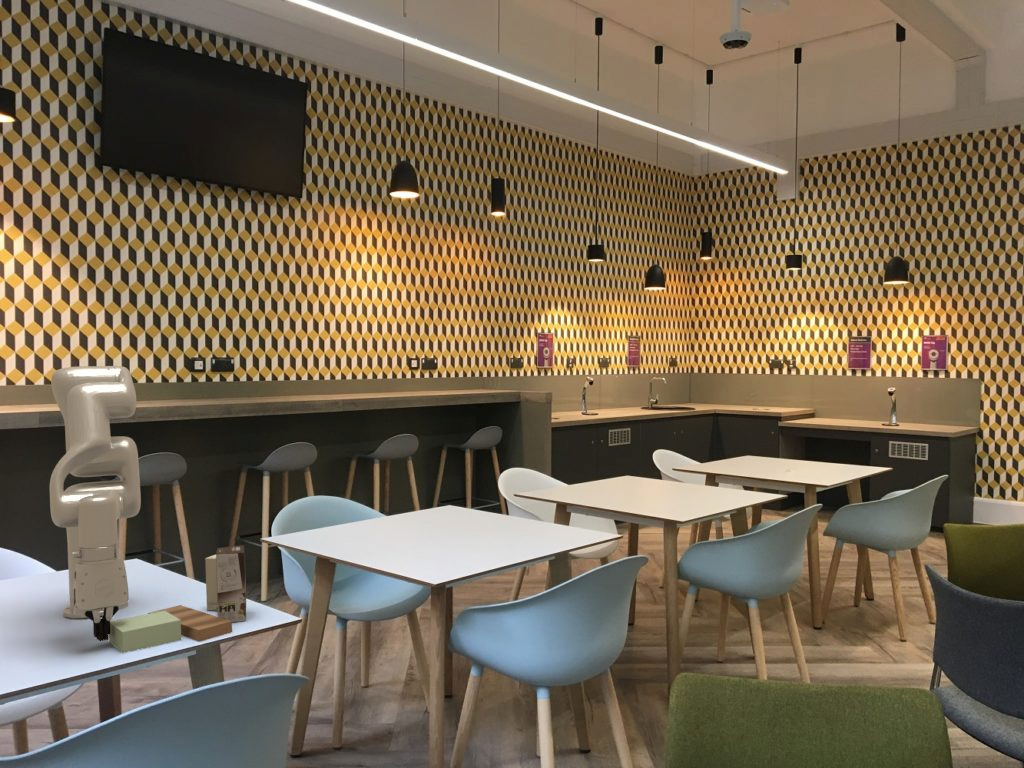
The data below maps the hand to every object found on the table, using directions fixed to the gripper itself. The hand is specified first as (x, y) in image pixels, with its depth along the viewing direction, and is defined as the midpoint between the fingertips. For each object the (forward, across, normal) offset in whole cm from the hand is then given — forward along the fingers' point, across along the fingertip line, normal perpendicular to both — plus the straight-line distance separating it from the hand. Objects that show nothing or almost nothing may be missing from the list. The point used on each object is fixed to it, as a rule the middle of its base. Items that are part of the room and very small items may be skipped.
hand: (102, 639), depth 185 cm
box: (+2, +30, +11) cm, 32 cm away
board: (+2, +19, 0) cm, 19 cm away
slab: (+2, +8, -2) cm, 9 cm away
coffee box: (+2, +29, +1) cm, 29 cm away
